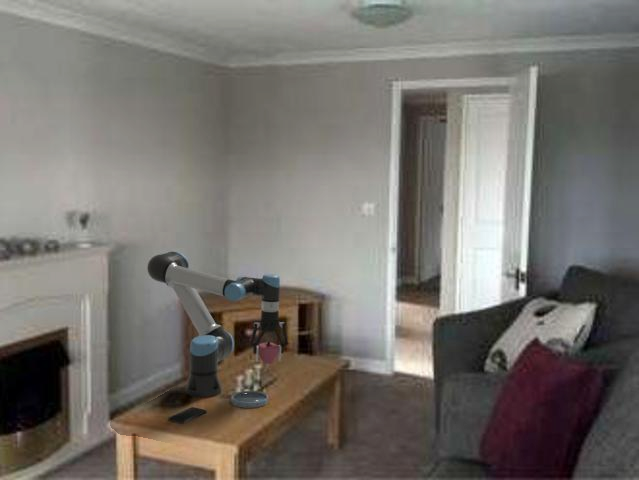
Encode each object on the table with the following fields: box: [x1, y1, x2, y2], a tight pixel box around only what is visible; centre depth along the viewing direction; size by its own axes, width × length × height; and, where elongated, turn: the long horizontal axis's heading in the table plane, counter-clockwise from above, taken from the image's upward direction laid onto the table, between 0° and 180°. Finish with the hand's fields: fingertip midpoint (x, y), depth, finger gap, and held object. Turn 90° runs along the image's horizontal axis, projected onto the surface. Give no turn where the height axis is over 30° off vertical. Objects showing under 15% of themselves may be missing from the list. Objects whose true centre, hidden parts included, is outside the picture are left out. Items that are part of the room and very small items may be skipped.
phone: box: [167, 406, 208, 425], centre depth 262 cm, size 8×1×15 cm
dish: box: [230, 390, 270, 409], centre depth 281 cm, size 15×15×2 cm
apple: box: [257, 341, 279, 365], centre depth 295 cm, size 10×9×10 cm
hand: (268, 360), depth 295 cm, fingers closed on apple, 9 cm apart
